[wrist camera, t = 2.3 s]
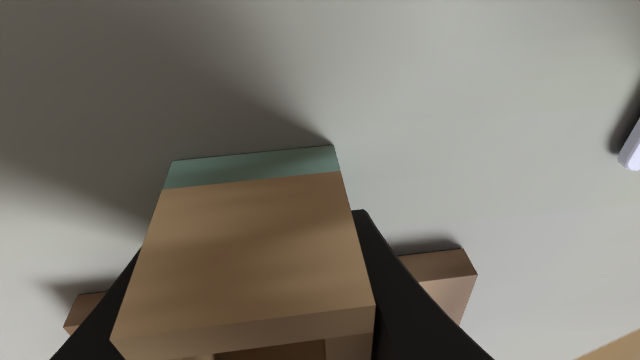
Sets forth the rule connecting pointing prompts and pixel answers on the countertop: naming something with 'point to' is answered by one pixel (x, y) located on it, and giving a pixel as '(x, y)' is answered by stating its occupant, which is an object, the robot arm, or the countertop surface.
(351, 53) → the countertop surface
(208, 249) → the sleeve
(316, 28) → the countertop surface
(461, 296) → the pin board
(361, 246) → the robot arm
